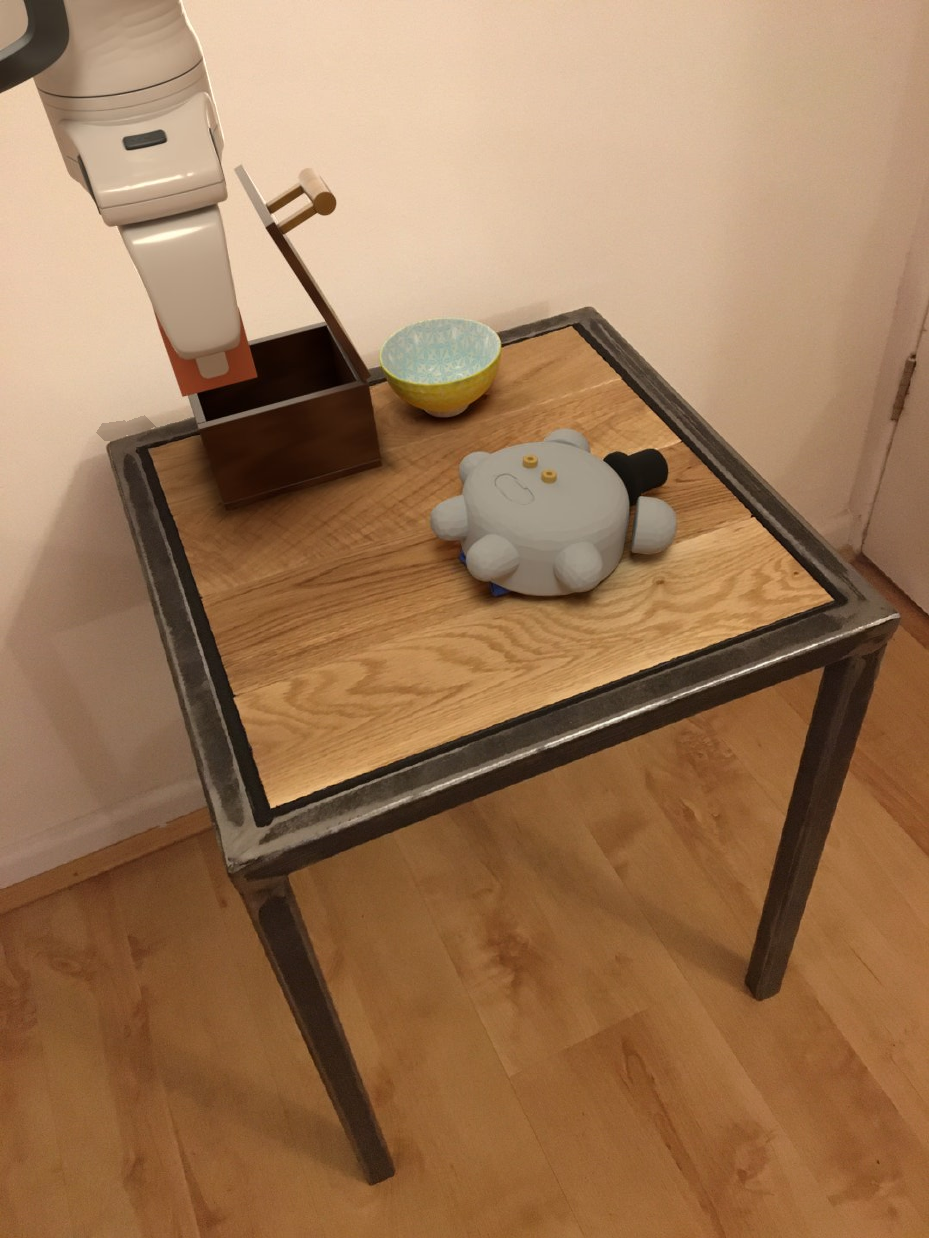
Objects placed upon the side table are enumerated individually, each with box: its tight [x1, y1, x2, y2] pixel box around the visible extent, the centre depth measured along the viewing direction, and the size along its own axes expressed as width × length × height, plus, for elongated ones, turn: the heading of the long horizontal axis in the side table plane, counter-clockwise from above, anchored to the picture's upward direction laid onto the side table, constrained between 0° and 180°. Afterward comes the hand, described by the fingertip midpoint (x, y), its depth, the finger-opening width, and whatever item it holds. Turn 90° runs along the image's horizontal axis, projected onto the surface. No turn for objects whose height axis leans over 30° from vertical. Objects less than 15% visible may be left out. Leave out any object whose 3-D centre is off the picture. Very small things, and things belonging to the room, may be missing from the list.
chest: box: [187, 320, 383, 512], centre depth 86 cm, size 15×12×9 cm
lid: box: [233, 163, 372, 381], centre depth 78 cm, size 15×12×6 cm
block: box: [151, 304, 257, 398], centre depth 62 cm, size 5×5×5 cm
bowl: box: [378, 316, 502, 418], centre depth 91 cm, size 11×12×6 cm
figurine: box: [429, 428, 678, 597], centre depth 76 cm, size 17×8×20 cm
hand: (206, 347), depth 63 cm, fingers closed on block, 5 cm apart
